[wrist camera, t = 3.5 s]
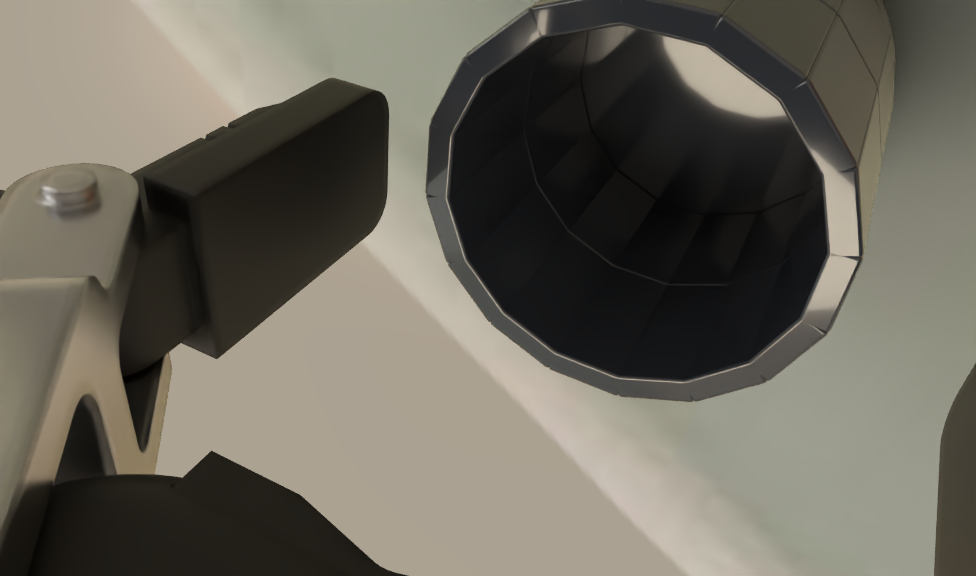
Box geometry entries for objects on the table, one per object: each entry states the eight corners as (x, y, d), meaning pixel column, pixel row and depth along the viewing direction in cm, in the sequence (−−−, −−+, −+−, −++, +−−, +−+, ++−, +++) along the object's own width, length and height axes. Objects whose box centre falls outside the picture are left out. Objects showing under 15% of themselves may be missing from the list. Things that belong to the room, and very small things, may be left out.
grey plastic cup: (555, 169, 18) (417, 318, 13) (603, -123, 14) (438, -55, 10) (826, 255, 16) (772, 458, 12) (957, -52, 13) (950, 69, 8)
